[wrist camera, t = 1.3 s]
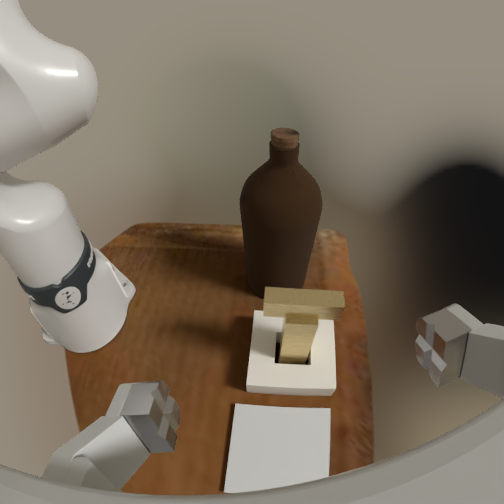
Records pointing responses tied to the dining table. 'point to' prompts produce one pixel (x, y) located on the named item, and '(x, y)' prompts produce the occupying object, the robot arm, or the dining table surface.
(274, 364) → the socket block
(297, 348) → the t key
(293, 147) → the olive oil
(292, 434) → the white mat
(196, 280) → the dining table surface
